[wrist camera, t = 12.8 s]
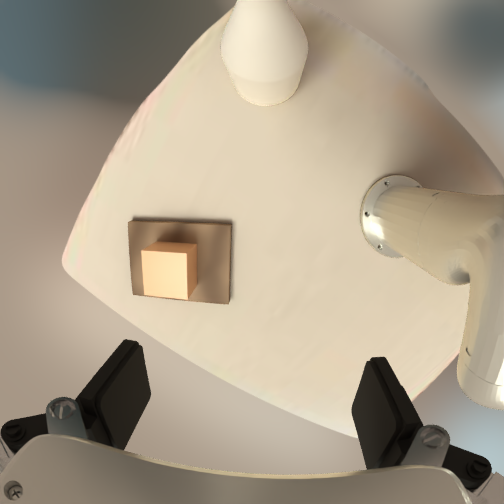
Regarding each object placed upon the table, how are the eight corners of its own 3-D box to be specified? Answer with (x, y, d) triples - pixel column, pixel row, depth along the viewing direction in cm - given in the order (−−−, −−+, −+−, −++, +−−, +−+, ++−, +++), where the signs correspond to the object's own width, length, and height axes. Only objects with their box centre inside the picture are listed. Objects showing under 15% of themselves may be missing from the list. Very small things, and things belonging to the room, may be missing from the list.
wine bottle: (274, 120, 38) (283, -1, 9) (220, 86, 37) (137, -44, 8) (311, 73, 36) (368, -69, 7) (257, 42, 35) (236, -110, 6)
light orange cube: (197, 243, 41) (186, 253, 36) (197, 285, 43) (187, 299, 38) (156, 241, 42) (141, 250, 36) (158, 281, 43) (144, 294, 38)
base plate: (231, 224, 42) (226, 230, 37) (229, 300, 45) (225, 314, 40) (132, 220, 43) (117, 225, 38) (136, 291, 46) (123, 303, 41)
